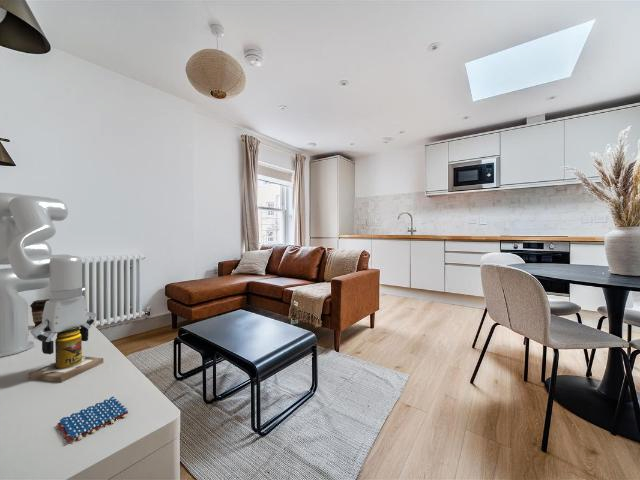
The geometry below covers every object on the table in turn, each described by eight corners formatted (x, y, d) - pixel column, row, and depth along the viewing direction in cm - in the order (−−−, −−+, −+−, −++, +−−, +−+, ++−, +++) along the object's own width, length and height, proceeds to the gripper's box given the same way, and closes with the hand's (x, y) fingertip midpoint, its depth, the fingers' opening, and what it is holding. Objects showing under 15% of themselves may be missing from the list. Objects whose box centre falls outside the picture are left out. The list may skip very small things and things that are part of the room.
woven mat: (55, 427, 58) (55, 419, 58) (113, 402, 66) (113, 394, 66) (68, 448, 52) (67, 439, 52) (129, 418, 61) (129, 409, 61)
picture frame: (28, 377, 78) (28, 372, 78) (73, 359, 89) (73, 354, 89) (61, 382, 75) (61, 376, 75) (103, 362, 87) (103, 357, 87)
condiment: (80, 366, 81) (79, 329, 81) (42, 374, 76) (41, 334, 76) (85, 357, 87) (85, 322, 87) (50, 364, 83) (50, 327, 82)
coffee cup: (42, 330, 119) (41, 302, 119) (24, 330, 119) (24, 302, 119) (61, 323, 128) (60, 298, 128) (45, 323, 128) (44, 298, 128)
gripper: (86, 288, 91) (86, 335, 92) (21, 300, 74) (22, 358, 75) (103, 289, 90) (103, 337, 90) (41, 301, 73) (41, 360, 73)
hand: (66, 346), depth 82 cm, fingers open, 9 cm apart
